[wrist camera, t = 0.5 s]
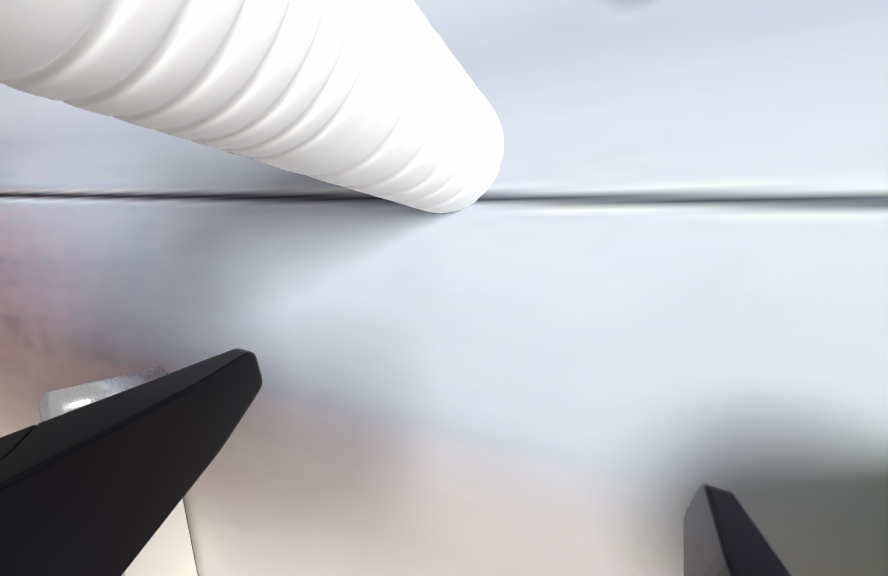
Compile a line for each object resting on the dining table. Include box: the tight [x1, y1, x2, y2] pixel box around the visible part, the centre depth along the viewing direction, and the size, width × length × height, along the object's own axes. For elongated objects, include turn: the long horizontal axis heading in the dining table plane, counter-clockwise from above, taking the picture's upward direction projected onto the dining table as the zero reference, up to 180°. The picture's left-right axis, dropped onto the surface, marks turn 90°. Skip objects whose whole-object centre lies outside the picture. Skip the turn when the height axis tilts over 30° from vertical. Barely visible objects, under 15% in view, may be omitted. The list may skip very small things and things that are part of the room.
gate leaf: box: [122, 499, 198, 576], centre depth 29 cm, size 17×2×5 cm, turn 13°
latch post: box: [40, 367, 167, 421], centre depth 29 cm, size 2×2×6 cm
